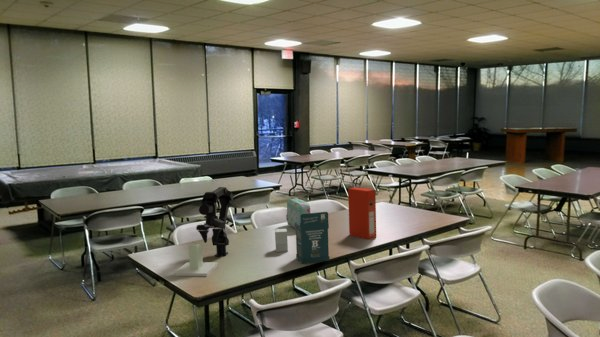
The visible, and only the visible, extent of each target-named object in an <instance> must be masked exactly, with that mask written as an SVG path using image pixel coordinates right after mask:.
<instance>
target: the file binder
mask: <svg viewBox="0 0 600 337" xmlns="http://www.w3.org/2000/svg"><path fill="white" fill-rule="evenodd" d="M347 190H348V191H347V193H348V195H347V197H348V198H347V199H348V230H349V232H348V233H349V236H354V237H356V238H361V239H365V240H372V239H375V238H377V209H376V208H377V207H376V206H377V204H376V200H377V198H376V189H373V188H372V189H371V188H364V187H360V186H359V187H358V186H355V187H349V188H348V189H347Z"/></svg>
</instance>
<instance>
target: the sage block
mask: <svg viewBox="0 0 600 337" xmlns="http://www.w3.org/2000/svg"><path fill="white" fill-rule="evenodd" d="M188 256H189V257H188V258H189V262H190V269H200V268H201V267H203V262H204V261H203V260H204V259H203V258H204V257H203V244H202V242H193V243H190V244H188Z"/></svg>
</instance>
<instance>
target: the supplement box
mask: <svg viewBox="0 0 600 337" xmlns="http://www.w3.org/2000/svg"><path fill="white" fill-rule="evenodd" d="M274 238H275V239H274V240H275V252H276V253H284V252H288V251H289V250H288V249H289V246H288V231H287V228H277V229H274Z"/></svg>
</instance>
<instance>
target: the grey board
mask: <svg viewBox="0 0 600 337" xmlns="http://www.w3.org/2000/svg"><path fill="white" fill-rule="evenodd" d="M218 266H219V262H215V261H214V262H211V261H210V262H209V261H208V262H206V261H203V267H201V268H200V269H190V261H187V262H185V263H184V264H183V265H182V266H180V268H178V269H177V270H176V271H174V272H173V276H175V277H208V276H209V275H210V274H211V273H212V272H213V271H214V270H215V269H216V268H217V267H218Z"/></svg>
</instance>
